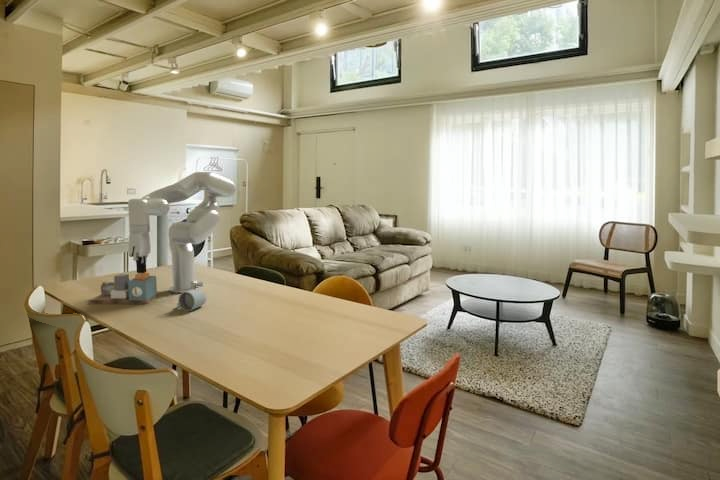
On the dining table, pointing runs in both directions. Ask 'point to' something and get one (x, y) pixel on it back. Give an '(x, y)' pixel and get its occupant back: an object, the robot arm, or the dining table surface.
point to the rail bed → (106, 298)
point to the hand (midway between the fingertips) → (141, 272)
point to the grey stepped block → (120, 286)
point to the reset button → (141, 276)
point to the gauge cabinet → (142, 288)
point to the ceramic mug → (191, 299)
